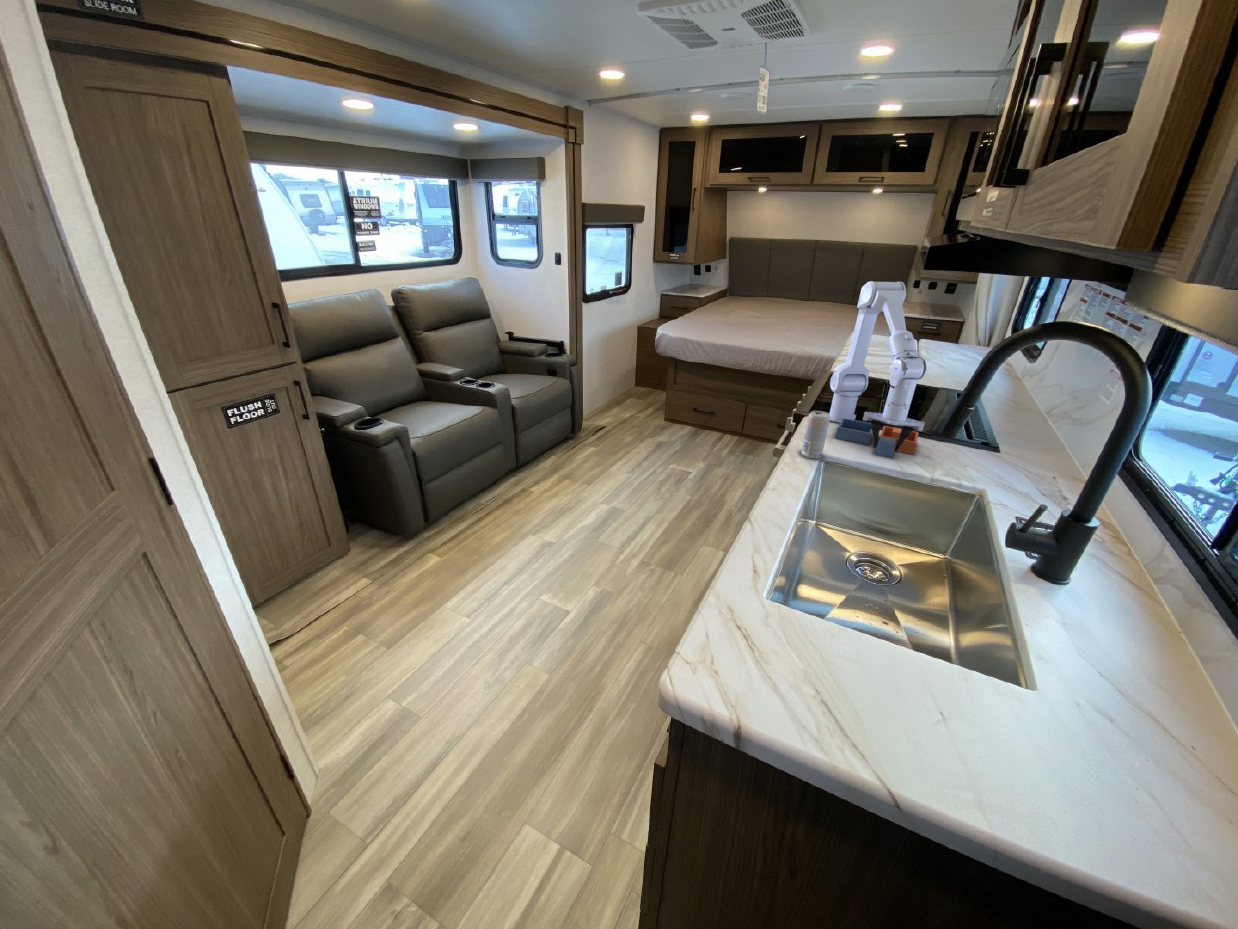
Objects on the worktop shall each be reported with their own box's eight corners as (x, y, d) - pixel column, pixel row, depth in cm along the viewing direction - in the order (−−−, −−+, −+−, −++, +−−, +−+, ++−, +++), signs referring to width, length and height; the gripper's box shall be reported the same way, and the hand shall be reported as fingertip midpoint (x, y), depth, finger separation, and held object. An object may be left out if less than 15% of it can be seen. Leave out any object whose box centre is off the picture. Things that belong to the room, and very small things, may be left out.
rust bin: (880, 436, 149) (883, 425, 147) (915, 443, 144) (918, 432, 143) (877, 446, 142) (880, 435, 140) (913, 454, 137) (916, 442, 136)
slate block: (876, 449, 140) (880, 436, 138) (892, 452, 138) (896, 439, 136) (875, 454, 137) (878, 441, 135) (891, 457, 135) (894, 444, 133)
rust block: (890, 439, 145) (893, 427, 143) (905, 442, 143) (909, 430, 142) (888, 444, 142) (892, 431, 140) (904, 447, 140) (908, 434, 138)
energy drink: (818, 451, 138) (827, 410, 133) (823, 459, 133) (833, 418, 128) (799, 450, 138) (807, 409, 133) (803, 458, 134) (812, 416, 128)
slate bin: (840, 428, 154) (842, 417, 152) (872, 434, 150) (875, 424, 148) (835, 438, 147) (837, 427, 145) (868, 445, 143) (871, 433, 141)
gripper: (866, 401, 131) (855, 447, 137) (928, 411, 125) (913, 460, 131) (870, 394, 137) (858, 439, 143) (929, 404, 130) (915, 450, 136)
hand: (885, 448), depth 137 cm, fingers open, 5 cm apart
